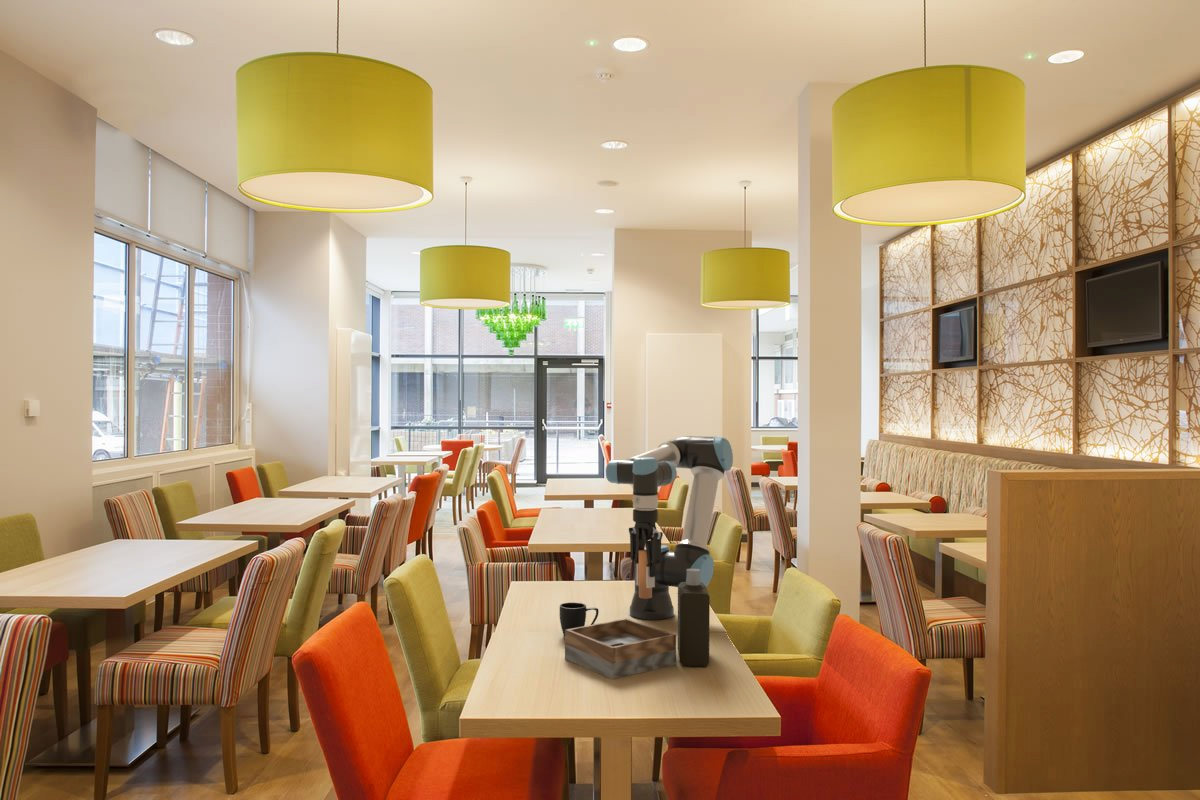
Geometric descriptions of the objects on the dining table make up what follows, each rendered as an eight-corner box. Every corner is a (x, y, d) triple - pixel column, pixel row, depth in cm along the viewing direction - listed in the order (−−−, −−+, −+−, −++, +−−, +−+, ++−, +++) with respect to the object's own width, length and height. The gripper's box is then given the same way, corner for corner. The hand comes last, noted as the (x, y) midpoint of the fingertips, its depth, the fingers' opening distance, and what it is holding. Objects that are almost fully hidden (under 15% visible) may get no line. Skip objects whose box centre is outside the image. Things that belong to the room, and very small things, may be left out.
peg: (646, 594, 252) (646, 548, 252) (654, 597, 248) (654, 550, 248) (636, 596, 249) (635, 550, 249) (644, 599, 246) (644, 552, 246)
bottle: (680, 667, 224) (680, 575, 224) (677, 650, 240) (677, 564, 240) (709, 668, 223) (710, 575, 223) (704, 650, 239) (705, 564, 239)
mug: (596, 641, 249) (596, 609, 249) (557, 639, 250) (557, 608, 250) (599, 633, 257) (600, 603, 257) (561, 632, 258) (562, 601, 258)
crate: (626, 645, 244) (626, 618, 244) (675, 664, 226) (676, 634, 226) (564, 658, 231) (565, 629, 231) (612, 679, 213) (612, 648, 213)
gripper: (618, 506, 253) (618, 582, 253) (654, 512, 240) (654, 593, 240) (637, 504, 258) (637, 579, 258) (673, 510, 244) (673, 589, 244)
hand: (645, 585), depth 249 cm, fingers closed on peg, 4 cm apart
